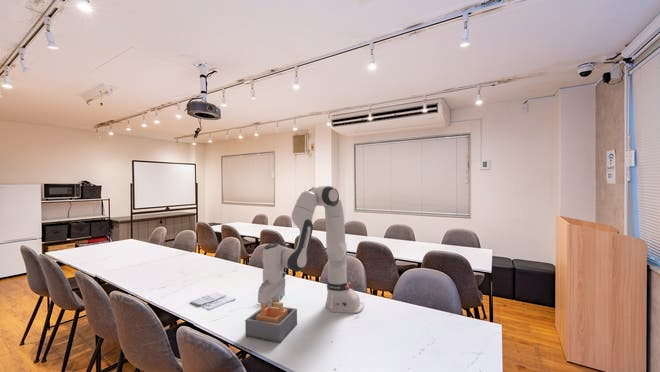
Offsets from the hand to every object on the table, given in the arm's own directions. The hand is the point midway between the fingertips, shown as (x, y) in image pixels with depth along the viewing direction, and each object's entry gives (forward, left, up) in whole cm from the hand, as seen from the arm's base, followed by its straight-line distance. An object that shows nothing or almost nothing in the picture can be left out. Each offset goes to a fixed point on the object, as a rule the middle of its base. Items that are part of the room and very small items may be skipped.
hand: (272, 305), depth 135 cm
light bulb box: (+18, -37, -12) cm, 43 cm away
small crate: (0, 0, -9) cm, 9 cm away
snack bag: (+53, -20, -13) cm, 58 cm away
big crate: (0, 0, -12) cm, 12 cm away
